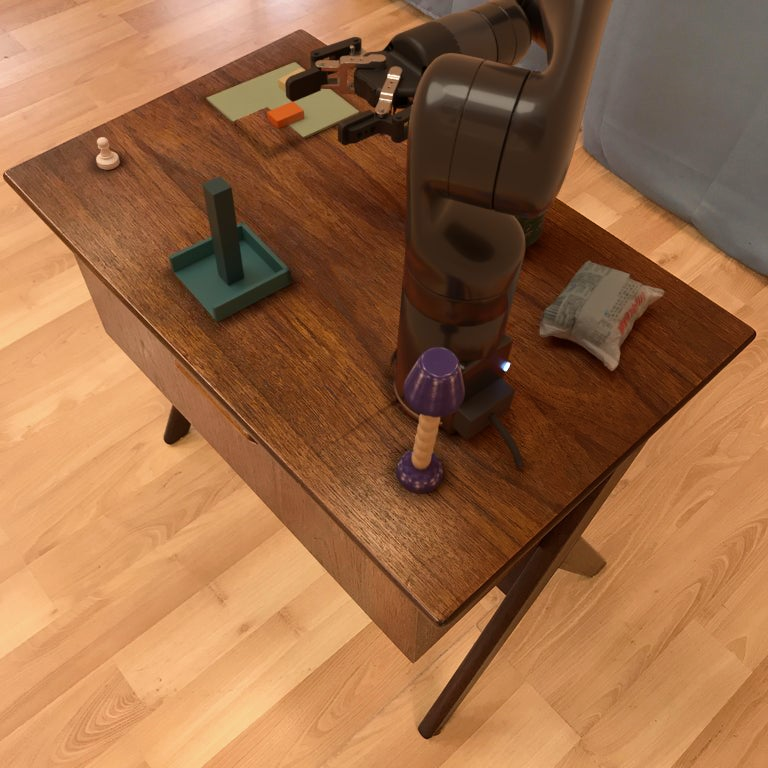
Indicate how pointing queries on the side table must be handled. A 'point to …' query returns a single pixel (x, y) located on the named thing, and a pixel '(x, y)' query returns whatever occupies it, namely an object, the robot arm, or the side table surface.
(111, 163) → the chess pawn
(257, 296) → the tray with upright handle
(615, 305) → the packaged food
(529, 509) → the side table surface
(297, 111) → the block
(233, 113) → the mat
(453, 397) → the toy lamp
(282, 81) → the block
